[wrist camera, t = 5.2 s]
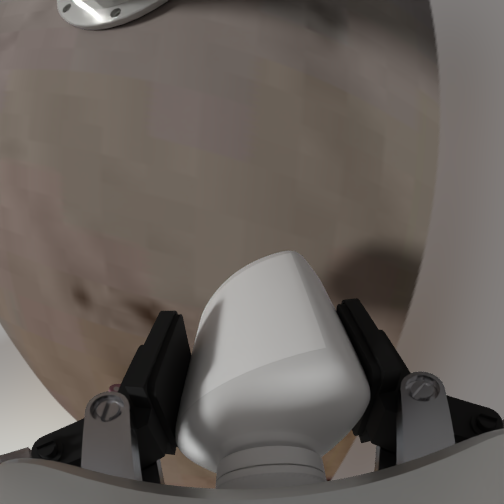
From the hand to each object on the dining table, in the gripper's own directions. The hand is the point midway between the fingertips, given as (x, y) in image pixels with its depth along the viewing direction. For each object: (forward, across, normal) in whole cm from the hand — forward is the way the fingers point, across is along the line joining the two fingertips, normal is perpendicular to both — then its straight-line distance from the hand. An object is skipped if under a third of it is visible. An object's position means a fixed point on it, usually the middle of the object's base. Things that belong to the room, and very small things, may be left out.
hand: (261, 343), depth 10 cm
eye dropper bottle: (+4, 0, 0) cm, 4 cm away
